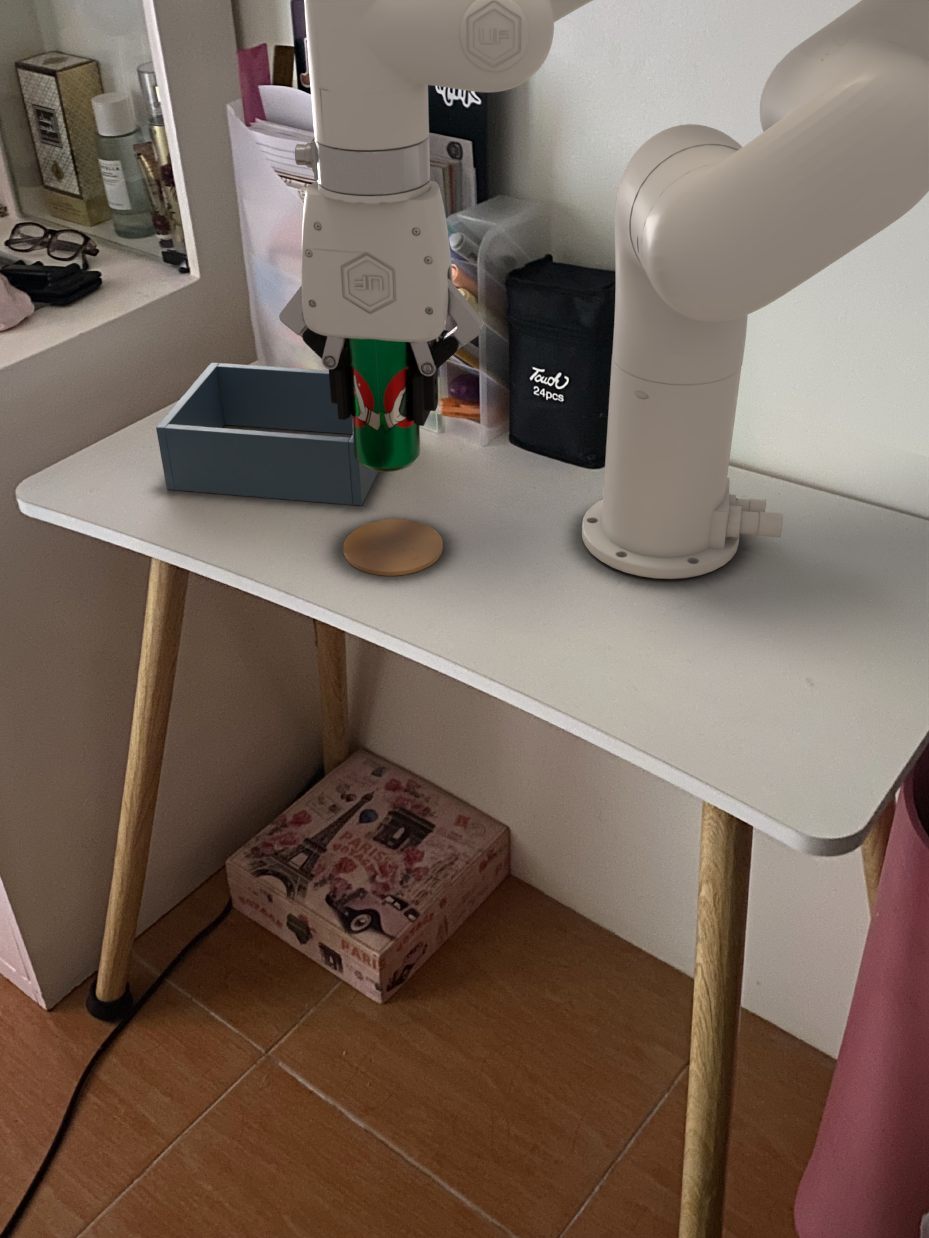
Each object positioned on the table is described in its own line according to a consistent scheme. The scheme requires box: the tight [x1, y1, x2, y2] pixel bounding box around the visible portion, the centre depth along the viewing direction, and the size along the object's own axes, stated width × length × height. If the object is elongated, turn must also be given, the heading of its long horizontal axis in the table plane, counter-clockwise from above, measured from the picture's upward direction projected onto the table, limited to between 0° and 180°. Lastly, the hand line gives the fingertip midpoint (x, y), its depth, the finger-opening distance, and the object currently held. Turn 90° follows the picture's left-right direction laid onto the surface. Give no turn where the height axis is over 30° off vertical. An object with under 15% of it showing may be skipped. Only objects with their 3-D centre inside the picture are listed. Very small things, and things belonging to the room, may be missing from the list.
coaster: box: [342, 518, 444, 577], centre depth 98 cm, size 8×8×1 cm
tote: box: [155, 362, 380, 506], centre depth 109 cm, size 18×14×6 cm
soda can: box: [346, 338, 421, 473], centre depth 90 cm, size 5×5×12 cm
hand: (385, 412), depth 91 cm, fingers closed on soda can, 5 cm apart
